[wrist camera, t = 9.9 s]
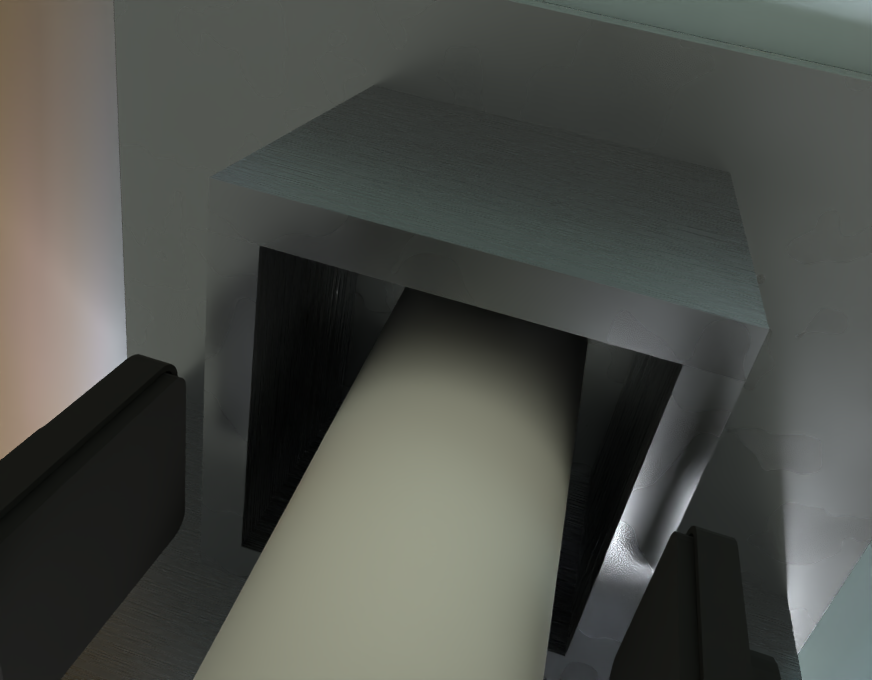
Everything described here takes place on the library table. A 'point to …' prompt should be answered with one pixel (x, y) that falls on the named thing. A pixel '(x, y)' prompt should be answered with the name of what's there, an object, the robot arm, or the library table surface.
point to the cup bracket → (502, 282)
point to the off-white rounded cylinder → (422, 512)
